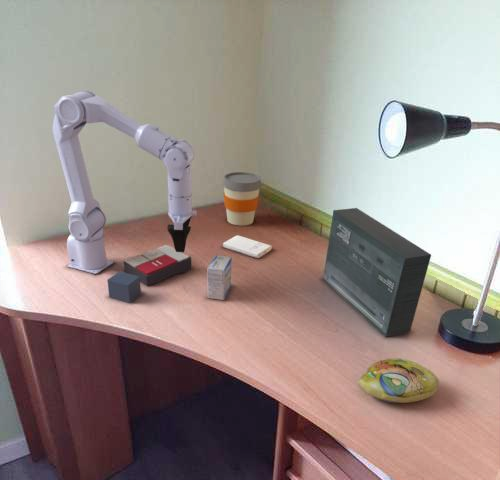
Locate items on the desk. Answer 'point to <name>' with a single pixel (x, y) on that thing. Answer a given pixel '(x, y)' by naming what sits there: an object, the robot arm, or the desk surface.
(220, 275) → the medicine box
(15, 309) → the desk surface
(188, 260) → the calculator
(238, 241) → the hard drive
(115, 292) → the block
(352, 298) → the cassette player
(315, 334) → the desk surface
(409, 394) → the cell model
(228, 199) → the reusable coffee cup
